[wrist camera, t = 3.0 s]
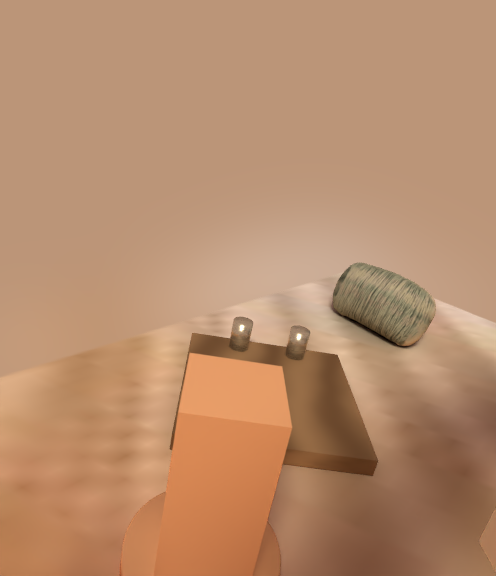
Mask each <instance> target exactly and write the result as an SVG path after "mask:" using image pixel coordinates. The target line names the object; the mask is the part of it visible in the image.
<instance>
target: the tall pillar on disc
mask: <svg viewBox="0 0 496 576" xmlns="http://www.w3.org/2000/svg"><path fill="white" fill-rule="evenodd" d="M291 431H292V423H291V417H290V411H289V405H288V399H287V393H286V386H285V380H284V374H283V368H282V366H276V365H269V364H262V363H256V362H249V361H242V360H235V359H229V358H222V357H215V356H208V355H202V354H195V353H190V354H189V359H188V364H187V369H186V375H185V380H184V385H183V390H182V395H181V400H180V405H179V411H178V417H177V423H176V430H175V436H174V443H173V450H172V456H171V463H170V469H169V476H168V483H167V489H166V492H164V493H162V494H160V495H158V496H156V497H154V498H153V499H151V500H150V501H149V502H147V503H146V504H145V505H144V506H143V507H142V508H141V509H140V510H139V511H138V512H137V513H136V515H135V516H134V518H133V519H132V521H131V522H130V524H129V526H128V528H127V531H126V534H125V537H124V541H123V546H122V555H121V564H120V576H279V575H280V566H281V558H280V550H279V545H278V542H277V538H276V536H275V534H274V531H273V529H272V528H271V526H270V524H269V522H268V521H267V520H268V516H269V512H270V509H271V505H272V501H273V497H274V494H275V490H276V486H277V483H278V479H279V475H280V471H281V468H282V464H283V460H284V457H285V453H286V449H287V445H288V442H289V438H290V434H291Z"/></svg>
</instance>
